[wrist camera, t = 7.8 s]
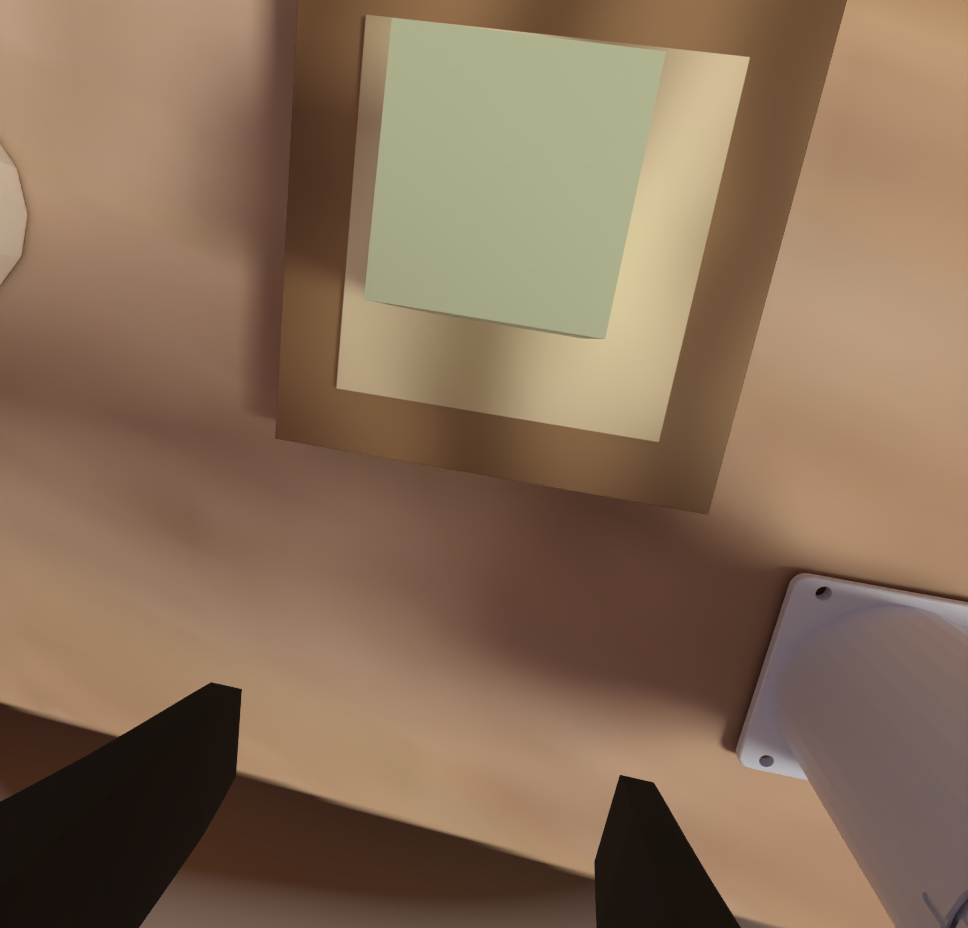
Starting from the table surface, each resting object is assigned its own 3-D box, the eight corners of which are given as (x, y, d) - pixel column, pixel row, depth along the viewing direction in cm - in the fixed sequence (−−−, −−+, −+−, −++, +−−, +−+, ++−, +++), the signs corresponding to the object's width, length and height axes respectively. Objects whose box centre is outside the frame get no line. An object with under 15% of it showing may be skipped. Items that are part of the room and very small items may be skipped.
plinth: (809, 27, 15) (858, -31, 13) (689, 494, 18) (709, 516, 16) (334, -23, 16) (298, -84, 14) (305, 427, 19) (272, 439, 17)
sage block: (617, 168, 14) (666, 51, 8) (582, 338, 15) (605, 339, 9) (453, 145, 14) (391, 17, 9) (431, 313, 16) (363, 298, 10)
